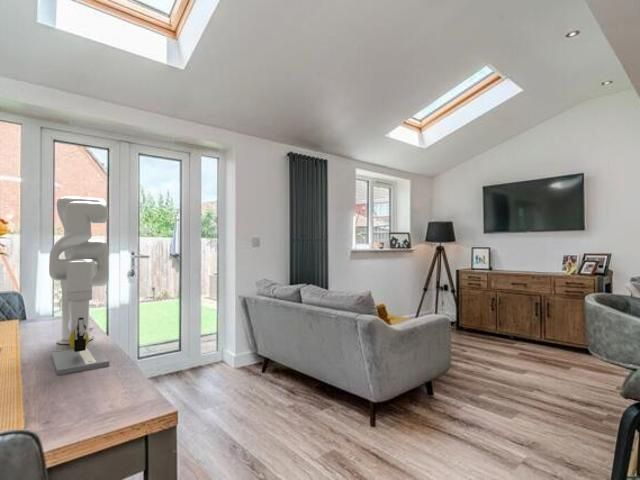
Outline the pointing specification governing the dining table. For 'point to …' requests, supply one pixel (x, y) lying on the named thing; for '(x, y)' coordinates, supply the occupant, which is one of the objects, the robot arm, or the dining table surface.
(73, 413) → the dining table surface
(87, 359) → the strip
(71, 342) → the lemon
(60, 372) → the panel
